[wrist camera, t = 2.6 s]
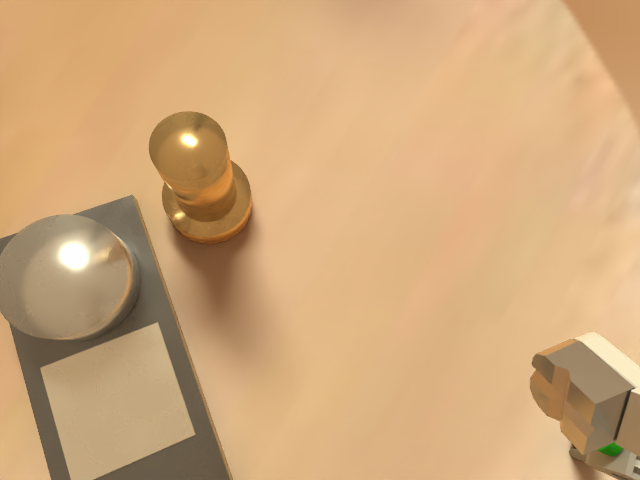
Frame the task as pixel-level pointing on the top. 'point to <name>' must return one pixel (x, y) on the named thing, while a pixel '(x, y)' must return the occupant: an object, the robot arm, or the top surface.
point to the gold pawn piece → (200, 178)
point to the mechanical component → (612, 461)
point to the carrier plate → (105, 351)
